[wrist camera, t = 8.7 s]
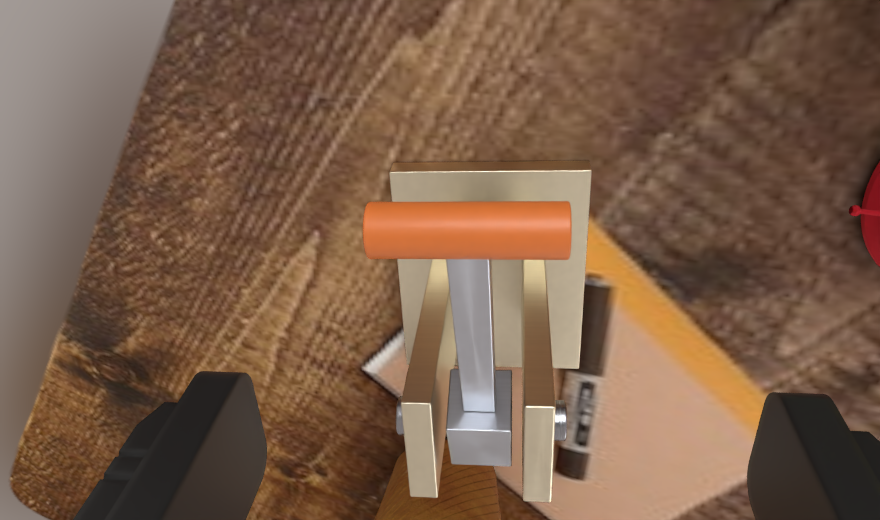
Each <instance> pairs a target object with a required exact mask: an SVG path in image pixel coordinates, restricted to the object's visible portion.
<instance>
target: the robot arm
mask: <svg viewBox="0 0 880 520" xmlns="http://www.w3.org/2000/svg"><path fill="white" fill-rule="evenodd" d="M266 459H267V445H266V438H265V434H264V430H263V425H262V421H261V417H260V413H259V408H258V404H257V400H256V396H255V391H254V387H253V383H252V380H251V378H250V376H249V375H248V374H247V373H238V372H209V371H202V372H199V373H197V374H196V375H195V376H194V378H193V379H192V381H191V382H190V384H189V386H188V387H187V389H186V390H185V392H184V394H183V395H182V397H181V398H180V400H179V402H178V403H173V402H164V403H163V404H162V405H161V406H160V407H158V408H157V409H156V410H155V411H153V412H152V413H151V414H150V415H148V416H147V417H146V418H145V419H144V420H142V421H141V422H140V423H139V424H137V426H136V427H135V429H134V430H133V432H132V433H131V435H130V436H129V437H128V439H127V440H126V442H125V443H124V445H123V446H122V448H121V449H120V451H119V456H118V457H115V458H114V460H113V461H112V463H111V464H110V466H109V467H108V469H107V470H106V472H105V473H104V479H103V480H100V481H99V482H98V484H97V485H96V487H95V488H94V489H93V491H92V492H91V494H90V495H89V497H88V498H87V500H86V501H85V503H84V504H83V506H82V507H81V509H80V510H79V512H78V513H77V515H76V516H75V518H74V519H73V520H246V518H247V515H248V513H249V510H250V508H251V506H252V503H253V501H254V498H255V496H256V494H257V491H258V489H259V486H260V484H261V481H262V479H263V475H264V471H265V466H266ZM747 484H748V494H749V500H750V504H751V507H752V510H753V513H754V516H755V519H756V520H880V441H879V440H877V439H876V438H875V437H874V436H873V435H872V434H870V433H869V432H862V431H850V430H849V428H848V426H847V424H846V423H845V421H844V419H843V417H842V416H841V414H840V412H839V410H838V409H837V407H836V405H835V404H834V402H833V400H832V399H831V398H830V397H829V396H827V395H825V394H806V393H777V392H773V393H770V394H769V395H768V396H767V398H766V400H765V403H764V406H763V410H762V414H761V418H760V422H759V426H758V429H757V433H756V437H755V441H754V445H753V449H752V452H751V456H750V460H749V464H748V472H747Z"/></svg>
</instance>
